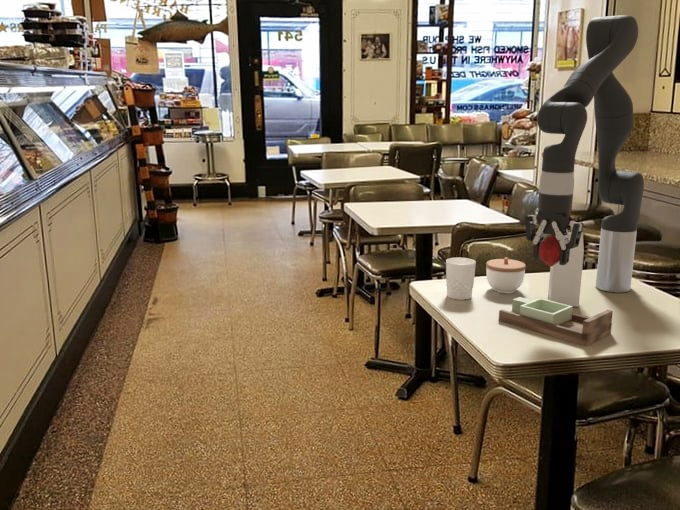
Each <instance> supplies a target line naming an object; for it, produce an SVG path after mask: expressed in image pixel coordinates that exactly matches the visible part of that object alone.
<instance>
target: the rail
mask: <svg viewBox="0 0 680 510" xmlns="http://www.w3.org/2000/svg"><path fill="white" fill-rule="evenodd" d="M498 311H499V312H498V321H499V322H501V323H507V324H509V323H510V324H509V325H512V324H513V326H516V327H520V328H523V329H526V330H530V331H534V332H537V333H541V334H544V335H547V336H551V337H554V338H557V339H561V340H564V341H567V342H571V343H574V344H578V345H582V346H584V347H588V346H590V345H592V344H594V343H595V342H598V341H599V340H600V341H601V340H602V339H603V338H605V337H608V336H609V335H611V334H612V325H613V313H614V311H613V310H611V309H606V310H603V311H602V312H599V313H598V314H597V313H596V314H595V315H593V316H591V317H589V316H586V315H581V314H578V313H574V312H572V319H571V320H568V321H566V322H564V323H562V324H559V325H556V324H552V323H548V322H545V321H541V320H538V319H534V318H530V317H527V316H523V315H520V314H518V313H515V312H512V310H511V311H508V310H505V309H499V310H498Z"/></svg>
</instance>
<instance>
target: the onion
mask: <svg viewBox="0 0 680 510" xmlns="http://www.w3.org/2000/svg"><path fill="white" fill-rule="evenodd" d="M561 249H562V248H561V246H560V242H559V241H558V240H557V238H556V236H554V235H552V234H549V236H548V237H547V238H546V237H545V238H544V240H543V242H542V243H541V244H540V246H539V256H540V259H541V260H540V261H542V263H544V264H545V265H546V266H548V267H549V268H550V267H552V266H553V265H555V264H556V263H558V262H559V261H560V250H561Z"/></svg>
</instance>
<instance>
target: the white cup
mask: <svg viewBox="0 0 680 510" xmlns="http://www.w3.org/2000/svg"><path fill="white" fill-rule="evenodd" d="M445 272H446V274H445V275H446V276H445V277H446V278H445V282H446V284H445V285H446V297H448V298H450V299H452V300H457V301H465V299H466V300H470V299H472V296H473V289H474V285H475V284H474V283H475V282H474V281H475V275H476V274H475V273H476V260H474V259H472V258H469V257H458V256H457V257H450V258H449V257H448V258H447V259H445Z"/></svg>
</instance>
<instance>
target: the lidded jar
mask: <svg viewBox="0 0 680 510" xmlns="http://www.w3.org/2000/svg"><path fill="white" fill-rule="evenodd" d="M485 264H486V265H485V266H486V270H485V273H486V280H487V283H488V285H489V286H490V287H491V289H494V290H495V291H494V290H493V291H494V292H496V291H498V292H497V293H499V292H513V293H515V292H516V291H517V290H518V289H519V288H520V287H521V286H522V284H523V282H524V278H525V274H526V273H525V272H526V269H527V268H526V267H527V266H526V264H525V262H523V261H520V260H516V259H512V258H510V259H509V257H504V258H495V259H490V260H487V262H486V263H485ZM514 291H515V292H514Z"/></svg>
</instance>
